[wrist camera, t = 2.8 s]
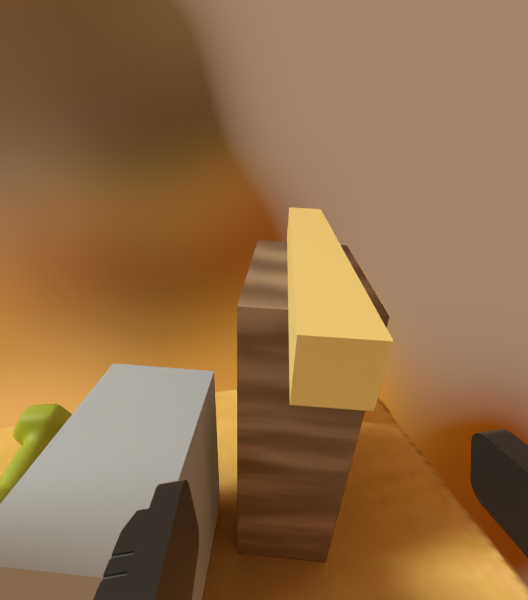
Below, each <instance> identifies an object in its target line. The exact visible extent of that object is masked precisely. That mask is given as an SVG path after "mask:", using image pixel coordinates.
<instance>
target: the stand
mask: <svg viewBox="0 0 528 600" xmlns="http://www.w3.org/2000/svg"><path fill="white" fill-rule="evenodd" d="M341 247H342V249H343V251H344V252H345V254H346V256H347V258H348V260H349V261H350V263H351V265H352V267H353V269H354V271H355V272H356V274H357V276H358V278H359V280H360V281H361V283H362V285H363V287H364V289H365V290H366V292H367V294H368V296H369V298H370V299H371V301H372V303H373V305H374V307H375V308H376V310H377V312H378V314H379V316H380V318H381V319H382V321H383V323H384V325H385V327H387V324H388V320H389V315H388V314H387V312H386V310H385V309H384V307H383V305H382V304H381V302H380V300H379V299H378V297H377V295H376V294H375V292H374V290H373V289H372V287H371V285H370V283H369V282H368V280H367V279H366V277H365V275H364V273H363V272H362V270H361V268H360V267H359V265H358V263H357V262H356V260H355V258H354V257H353V255H352V253H351V252H350V250H349V248H348V247H347V246H346V245H341ZM364 412H365V411H363V410H350V409H337V408H324V407H312V406H299V405H290V390H289V325H288V260H287V242H277V241H258V242H257V245H256V249H255V252H254V255H253V258H252V261H251V264H250V268H249V271H248V274H247V277H246V280H245V284H244V287H243V290H242V293H241V296H240V300H239V303H238V306H237V553H242V554H252V555H261V556H271V557H281V558H290V559H300V560H310V561H319V562H326V558H327V554H328V550H329V547H330V543H331V539H332V535H333V531H334V527H335V524H336V520H337V516H338V512H339V508H340V504H341V500H342V497H343V493H344V489H345V485H346V481H347V477H348V474H349V470H350V466H351V462H352V458H353V454H354V451H355V447H356V443H357V439H358V435H359V431H360V427H361V424H362V420H363V416H364Z"/></svg>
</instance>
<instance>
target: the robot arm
mask: <svg viewBox="0 0 528 600" xmlns="http://www.w3.org/2000/svg"><path fill="white" fill-rule="evenodd" d="M471 443H472V444H471V445H472V446H471V483H472V487H473V490H474V492H475V495H476V496H477V498H478V500H479V501H480V503H481V504H482V505H483V507H484V508H485V509H486V510H487V511H488V512H489V513H490V515H491V516H492V517H493V518H494V519H495V521H496V522H497V523H498V524H499V525H500V526H501V527H502V529H503V530H504V531H505V532H506V533H507V534H508V535H509V537H510V538H511V539H512V540H513V541H514V542H515V543H516V545H517V546H518V547H519V548H520V549H521V550H522V552H523V553H524V554H525V555H526V556H527V557H528V445H526V444H525V443H524V442H523V441H521V440H520V439H519V438H517V437H516V436H514V435H513V434H512V433H510V432H509V431H507V430H504V429H500V430H493V431H488V432H481V433H476V434H474V435H473V436H472V442H471ZM198 551H199V528H198V522H197V517H196V513H195V509H194V504H193V500H192V495H191V491H190V486H189V483H188V481H187V480H181V481H174V482H168V483H162V484H158V486H157V487H156V489H155V492H154V495H153V498H152V501H151V504H150V507H149V508H148V509H142V510H137V511H136V512H135V514H134V515H133V516H132V518H131V519H130V520H129V522H128V523H127V524H126V525H125V527H124V528H123V529H122V531H121V533H120V535H119V538H118V540H117V542H116V545H115V547H114V550H113V552H112V557H111V559H110V560H109V562H108V564H107V567H106V569H105V572H104V574H103V580H102V581H101V582H100V584H99V586H98V589H97V591H96V594H95V596H94V599H93V600H192V594H193V587H194V580H195V573H196V566H197V559H198Z"/></svg>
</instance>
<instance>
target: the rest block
mask: <svg viewBox="0 0 528 600" xmlns="http://www.w3.org/2000/svg"><path fill="white" fill-rule="evenodd" d="M181 480H187V481H188V483H189V486H190V491H191V495H192V500H193V504H194V509H195V513H196V517H197V522H198V528H199V551H198V559H197V566H196V573H195V580H194V587H193V594H192V600H202V597H203V592H204V587H205V581H206V576H207V571H208V565H209V560H210V555H211V550H212V544H213V539H214V534H215V528H216V523H217V518H218V513H219V507H220V494H219V472H218V450H217V428H216V406H215V383H214V371H204V370H190V369H178V368H165V367H152V366H139V365H126V364H112V365H111V367H110V368H109V369H108V370H107V372H106V373H105V375H103V377H102V378H101V379H100V380H99V382H98V383H97V384H96V386H95V387H94V388H93V389H92V390H91V392H90V393H89V394H88V395H87V397H86V398H85V399H84V400H83V402H82V403H81V404H80V405H79V407H78V408H77V409H76V410H75V412H74V413H73V414H72V415H71V417H70V418H69V419H68V420H67V421H66V423H65V424H64V425H63V426H62V428H61V429H60V430H59V431H58V433H57V434H56V435H55V436H54V438H53V439H52V440H51V441H50V443H49V444H48V445H47V446H46V448H45V449H44V450H43V451H42V453H41V454H40V455H39V456H38V458H37V459H36V460H35V461H34V463H33V464H32V465H31V466H30V468H29V469H28V470H27V471H26V473H25V474H24V475H23V476H22V477H21V479H20V480H19V481H18V482H17V484H16V485H15V486H14V487H13V489H12V490H11V491H10V492H9V494H8V495H7V496H6V497H5V499H4V500H3V501H2V502H1V504H0V600H93V599H94V596H95V594H96V591H97V589H98V586H99V584H100V582H101V581H102V580H103V574H104V572H105V569H106V567H107V564H108V562H109V560H110V559H111V557H112V552H113V550H114V547H115V545H116V542H117V540H118V538H119V535H120V533H121V531H122V529H123V528H124V527H125V525H126V524H127V523H128V522H129V520H130V519H131V518H132V516H133V515H134V514H135V512H136V511H137V510H142V509H148V508H149V507H150V504H151V501H152V498H153V495H154V492H155V489H156V487H157V486H158V484H162V483H168V482H174V481H181Z"/></svg>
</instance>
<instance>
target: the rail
mask: <svg viewBox="0 0 528 600" xmlns="http://www.w3.org/2000/svg"><path fill="white" fill-rule="evenodd" d="M287 260H288V325H289V390H290V405H299V406H312V407H324V408H337V409H350V410H363V411H374V410H375V406H376V403H377V399H378V396H379V392H380V388H381V385H382V381H383V378H384V374H385V371H386V367H387V363H388V360H389V356H390V353H391V349H392V346H393V342H394V341H393V339H392V337H391V336H390V334H389V332H388V330H387V328H386V327H385V325H384V323H383V321H382V319H381V318H380V316H379V314H378V312H377V310H376V308H375V307H374V305H373V303H372V301H371V299H370V298H369V296H368V294H367V292H366V290H365V289H364V287H363V285H362V283H361V281H360V280H359V278H358V276H357V274H356V272H355V271H354V269H353V267H352V265H351V263H350V261H349V260H348V258H347V256H346V254H345V252H344V251H343V249H342V247H341V245H340V244H339V242H338V240H337V238H336V236H335V234H334V233H333V231H332V229H331V227H330V225H329V223H328V222H327V220H326V218H325V216H324V215H323V213H322V211H321V209H306V208H289V220H288V234H287Z"/></svg>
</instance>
